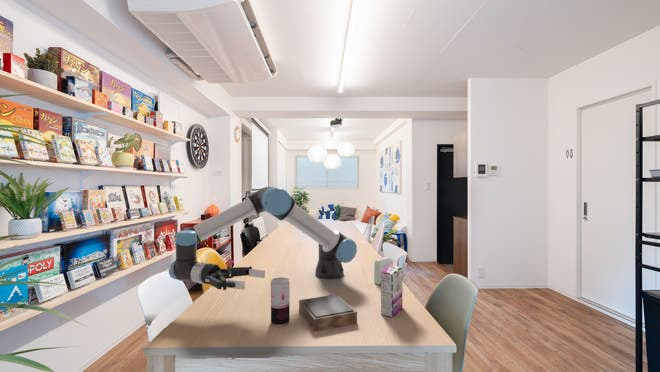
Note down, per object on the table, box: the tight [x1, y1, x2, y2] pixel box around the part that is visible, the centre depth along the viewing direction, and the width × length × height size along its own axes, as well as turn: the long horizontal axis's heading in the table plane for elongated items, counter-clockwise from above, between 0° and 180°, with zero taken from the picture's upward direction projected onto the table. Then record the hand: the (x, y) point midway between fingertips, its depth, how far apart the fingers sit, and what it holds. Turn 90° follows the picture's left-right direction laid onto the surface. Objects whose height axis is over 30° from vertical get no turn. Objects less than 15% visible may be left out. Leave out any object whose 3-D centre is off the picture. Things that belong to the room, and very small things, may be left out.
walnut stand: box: [298, 294, 358, 332], centre depth 116 cm, size 16×18×4 cm
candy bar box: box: [380, 264, 404, 318], centre depth 121 cm, size 11×5×16 cm, turn 148°
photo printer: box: [373, 256, 394, 285], centre depth 154 cm, size 10×4×12 cm, turn 123°
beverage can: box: [270, 277, 290, 327], centre depth 111 cm, size 7×7×15 cm
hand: (254, 279), depth 114 cm, fingers open, 13 cm apart
